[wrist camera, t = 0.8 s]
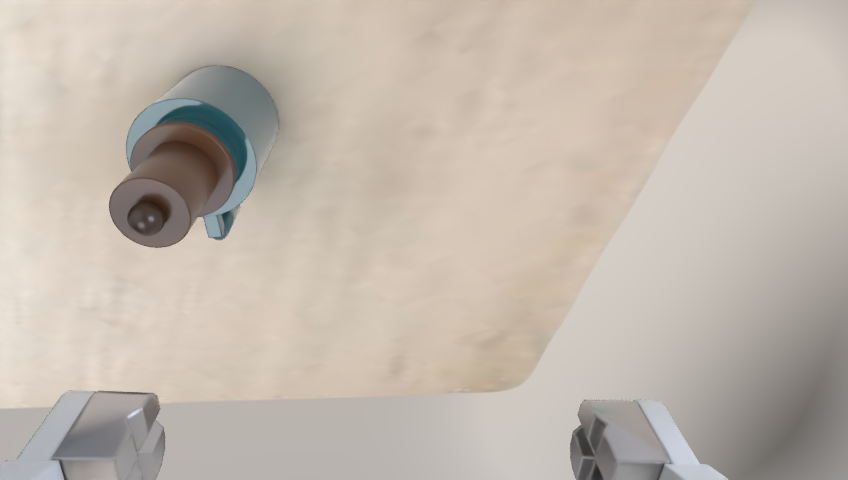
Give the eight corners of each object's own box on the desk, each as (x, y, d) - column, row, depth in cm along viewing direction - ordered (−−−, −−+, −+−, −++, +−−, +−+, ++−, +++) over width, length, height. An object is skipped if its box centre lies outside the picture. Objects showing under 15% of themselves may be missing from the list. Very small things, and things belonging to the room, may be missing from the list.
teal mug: (158, 69, 48) (98, 109, 38) (268, 61, 48) (237, 99, 38) (194, 198, 53) (150, 263, 43) (292, 191, 54) (270, 254, 44)
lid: (121, 124, 38) (56, 175, 31) (224, 117, 38) (185, 165, 31) (150, 216, 42) (98, 282, 34) (245, 209, 42) (214, 273, 34)
